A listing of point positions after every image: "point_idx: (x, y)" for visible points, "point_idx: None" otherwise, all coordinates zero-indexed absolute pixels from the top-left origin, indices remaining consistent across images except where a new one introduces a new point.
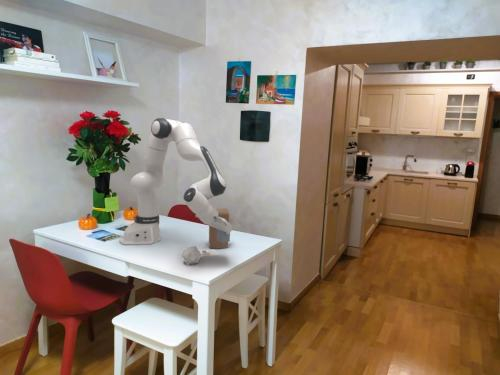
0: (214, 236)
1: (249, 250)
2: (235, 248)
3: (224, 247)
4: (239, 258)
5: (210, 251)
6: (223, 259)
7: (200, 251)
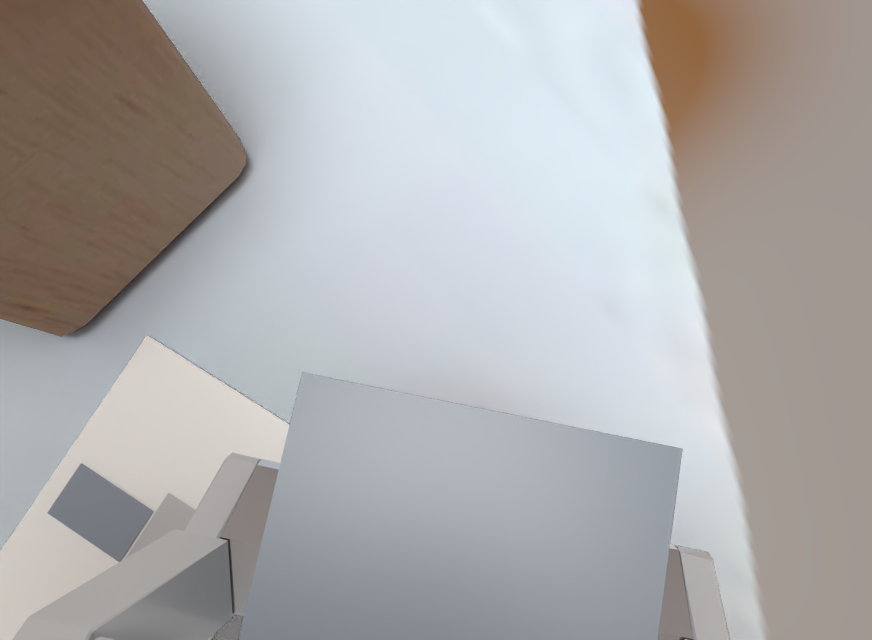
0: (4, 252)
1: (523, 32)
2: (335, 97)
3: (218, 194)
4: (631, 353)
5: (162, 441)
6: None
7: (48, 543)
